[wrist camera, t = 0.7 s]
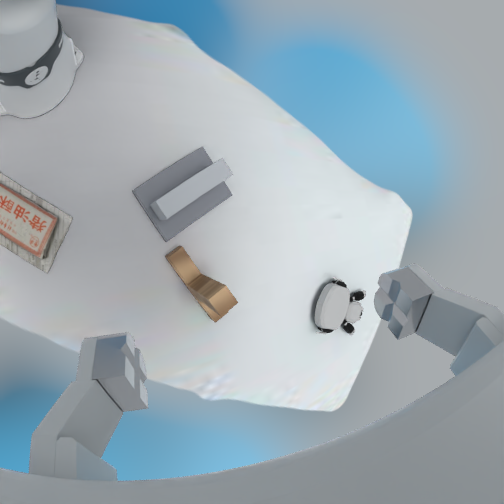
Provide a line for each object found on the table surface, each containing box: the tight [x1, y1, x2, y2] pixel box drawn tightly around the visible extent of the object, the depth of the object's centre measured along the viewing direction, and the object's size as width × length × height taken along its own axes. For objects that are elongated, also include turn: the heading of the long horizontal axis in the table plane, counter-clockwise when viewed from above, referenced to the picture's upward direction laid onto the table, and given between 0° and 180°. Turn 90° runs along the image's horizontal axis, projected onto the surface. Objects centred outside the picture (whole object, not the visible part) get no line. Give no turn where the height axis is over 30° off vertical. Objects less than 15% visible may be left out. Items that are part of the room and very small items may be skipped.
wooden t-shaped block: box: [165, 246, 238, 323], centre depth 45 cm, size 14×3×14 cm, turn 34°
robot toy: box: [315, 277, 366, 335], centre depth 64 cm, size 12×4×15 cm
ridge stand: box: [133, 147, 233, 242], centre depth 45 cm, size 10×14×8 cm
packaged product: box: [0, 173, 73, 273], centre depth 34 cm, size 18×5×10 cm
